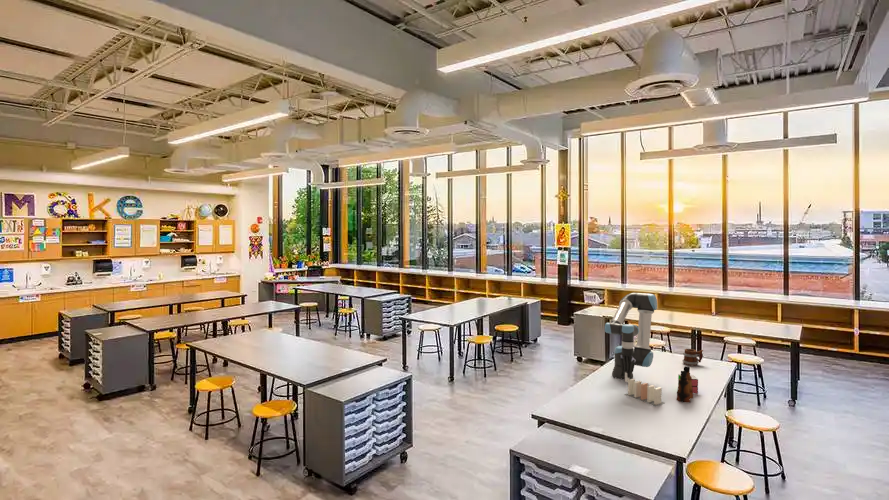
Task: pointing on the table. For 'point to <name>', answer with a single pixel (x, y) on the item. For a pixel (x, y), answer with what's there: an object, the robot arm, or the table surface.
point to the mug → (692, 357)
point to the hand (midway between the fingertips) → (627, 381)
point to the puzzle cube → (693, 383)
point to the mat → (643, 400)
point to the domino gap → (644, 391)
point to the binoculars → (685, 386)
